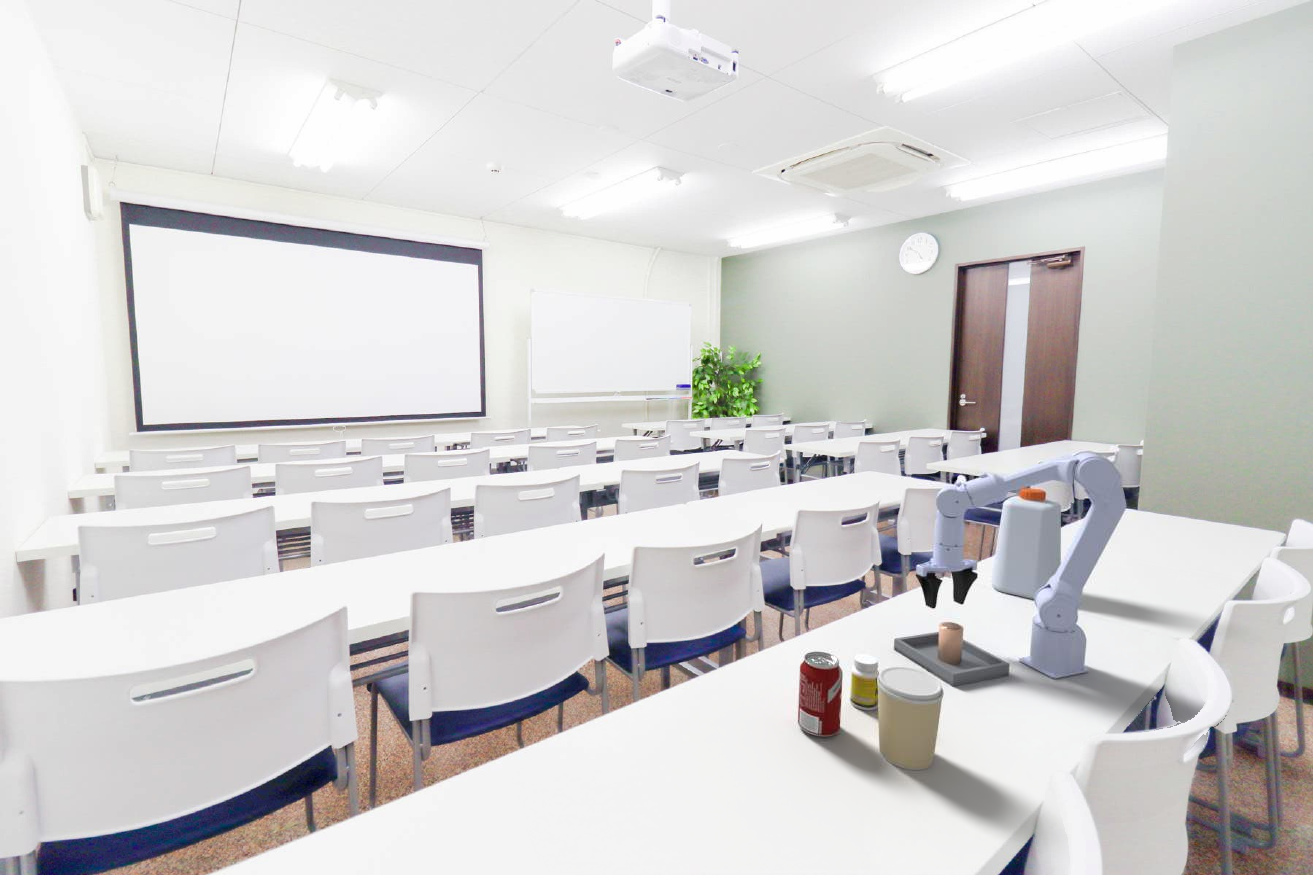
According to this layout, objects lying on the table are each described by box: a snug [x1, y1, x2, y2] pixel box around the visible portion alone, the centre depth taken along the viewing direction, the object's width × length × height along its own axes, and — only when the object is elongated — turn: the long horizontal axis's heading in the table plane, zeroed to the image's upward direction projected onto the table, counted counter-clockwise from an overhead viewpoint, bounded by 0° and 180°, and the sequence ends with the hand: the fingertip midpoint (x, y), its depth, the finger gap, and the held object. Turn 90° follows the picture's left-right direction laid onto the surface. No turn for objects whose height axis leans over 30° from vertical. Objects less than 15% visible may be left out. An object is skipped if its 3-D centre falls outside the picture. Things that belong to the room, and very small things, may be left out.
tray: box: [893, 631, 1011, 687], centre depth 123 cm, size 14×16×2 cm
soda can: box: [797, 651, 843, 738], centre depth 99 cm, size 7×7×12 cm
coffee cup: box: [877, 666, 945, 771], centre depth 92 cm, size 9×9×12 cm
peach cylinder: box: [938, 621, 964, 664], centre depth 123 cm, size 4×4×7 cm
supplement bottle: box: [849, 653, 880, 711], centre depth 107 cm, size 5×5×8 cm
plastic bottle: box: [990, 487, 1062, 600], centre depth 164 cm, size 15×15×28 cm
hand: (944, 604), depth 129 cm, fingers open, 7 cm apart
